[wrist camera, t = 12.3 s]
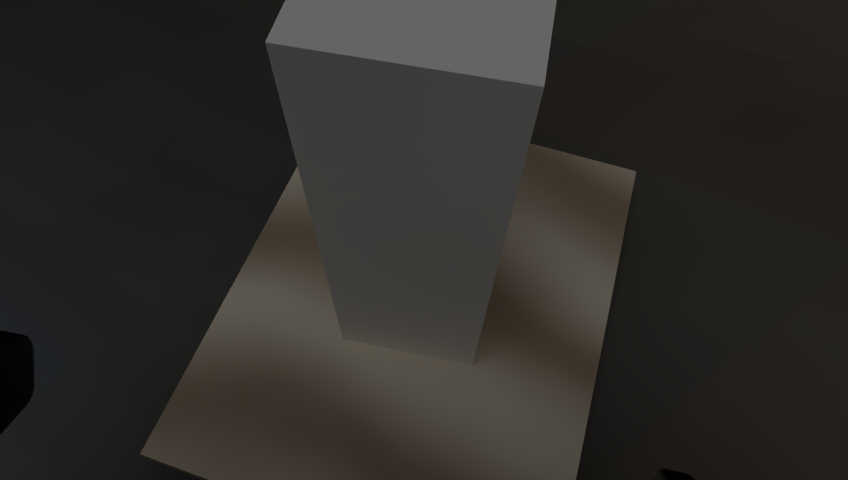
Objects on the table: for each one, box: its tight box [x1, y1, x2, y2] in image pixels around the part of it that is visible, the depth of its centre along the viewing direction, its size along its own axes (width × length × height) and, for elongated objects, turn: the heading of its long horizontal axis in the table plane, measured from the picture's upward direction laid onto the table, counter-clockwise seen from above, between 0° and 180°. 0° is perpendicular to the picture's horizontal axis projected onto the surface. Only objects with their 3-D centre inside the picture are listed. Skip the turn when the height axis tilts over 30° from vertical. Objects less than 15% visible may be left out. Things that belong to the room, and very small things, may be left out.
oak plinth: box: [140, 143, 636, 480], centre depth 23 cm, size 16×13×2 cm
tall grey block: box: [265, 0, 556, 365], centre depth 16 cm, size 4×4×13 cm
